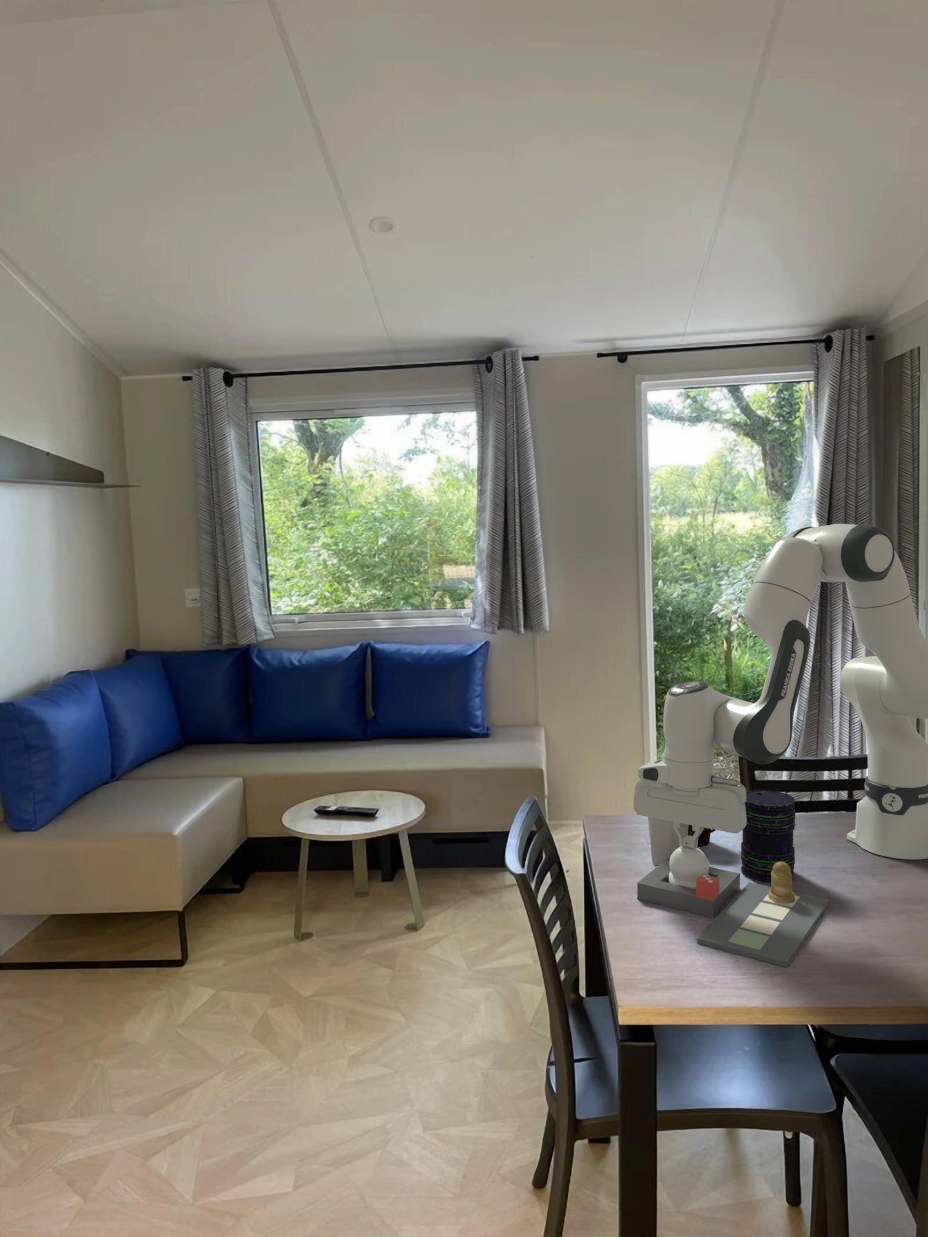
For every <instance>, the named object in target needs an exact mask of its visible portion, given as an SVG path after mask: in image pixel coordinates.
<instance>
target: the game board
mask: <svg viewBox="0 0 928 1237" xmlns="http://www.w3.org/2000/svg"><path fill="white" fill-rule="evenodd" d="M769 889H771V886H768V885H763V884H759V883H755V882H750V881H749V882H747V884H745V886H744V887H743V888H742V889H741V890H739V891H738V894H736V895H735V897H734V898H733V899H731V901H730V902H728V903H727V906H726V905H725V907H724V909H723V910H722V911H721V912H720V913H719V914H717V916H715V918H714V919H713V920H712V922H711V923H710V924H709V925H708V926H707V927H706V928H705V929H704V930H703V931H702V932H701V934H700V935H699V936H698V937H697V938H696V942H697V944H700V945H704V946H706V947H710V948H715V949H718V950H722V951H726V952H729V953H732V954H737V955H740V956H743V957H748V958H751V959H754V960H758V961H762V962H765V963H769V964H772V965H773V964H774V965H776V966H780V967H784V968H788V967H789V965H790V963H791V962H792V961H793V959H794V957H795V956H796V954H797V953H798V951H799V950H800V949H801V948H802V945H803V944H804V942H805V941H806V940H807V939H808V936H809V935H810V933H811V932H812V930H813V929H814V927H815V926H816V924H817V923H818V922H819V920H820V918H821V917H822V915H823V914H824V912H825V911H826V909H827V908H828V907H829V905H830V899H828V898H827V899H826V898H823V897H817V896H813V895H809V894H804V893H798V892H795V891H793V892H794V893H795V901H794V902H792V903H789V904H782V903H777V902H774V901H771V900H770V899H769V898H768V891H769Z"/></svg>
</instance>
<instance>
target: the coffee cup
mask: <svg viewBox="0 0 928 1237" xmlns="http://www.w3.org/2000/svg"><path fill="white" fill-rule="evenodd" d="M647 823H648V833H649V843H650V853H651V862H653V863H652V864H653V865H654V864H655V865H654V866H656V865H657V866H659V865H660V864H661V863H662V862H663V861H665V860H666V859H667V858H670V857H671V855H672V853H673V852H674V851H675V850H676V849H677V848H679V847H681V846H679V837H678V835H677V834H676V832H675V830H674V828H673V822H672V821H667V820H662V819H656V818H651V817H647ZM682 827H683V829H684V831H685V833H686V835H688V824H684V825H683V826H682ZM657 866H656V867H657Z"/></svg>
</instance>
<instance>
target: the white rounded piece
mask: <svg viewBox="0 0 928 1237" xmlns="http://www.w3.org/2000/svg"><path fill="white" fill-rule="evenodd" d="M669 866H670V873H669V883H671V884H676V885H680V886H684V887H688V888H693V889H696V880H697V879H698V878H699V877H700V876H701V875H702V874H703V875H708V871H709V867H710V864H709V860H708V857H707V855H706V854H705V853H704V851H702V849H701V848H696V849H692V848H688V847H683V846H681V847H679V848H677V849H676V850H675V851H674V852H673V853H672V855H671V857H670V861H669ZM708 876H709V875H708Z"/></svg>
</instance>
